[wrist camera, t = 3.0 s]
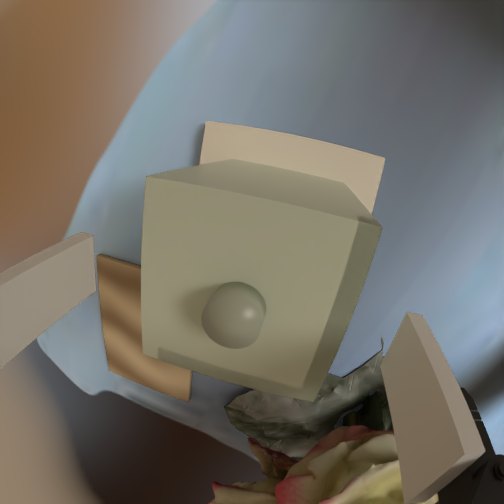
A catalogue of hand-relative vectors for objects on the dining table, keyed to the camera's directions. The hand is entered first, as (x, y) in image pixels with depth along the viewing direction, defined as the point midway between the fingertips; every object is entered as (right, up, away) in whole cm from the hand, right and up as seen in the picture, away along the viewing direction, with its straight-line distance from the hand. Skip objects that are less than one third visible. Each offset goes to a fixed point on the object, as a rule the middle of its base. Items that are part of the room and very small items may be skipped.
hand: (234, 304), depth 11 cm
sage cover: (+3, +4, +11) cm, 12 cm away
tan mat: (-10, -7, +18) cm, 22 cm away
